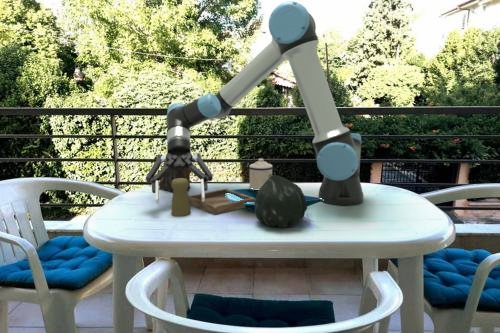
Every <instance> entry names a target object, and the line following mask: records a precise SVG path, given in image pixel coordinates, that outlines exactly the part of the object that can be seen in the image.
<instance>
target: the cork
mask: <svg viewBox="0 0 500 333" xmlns="http://www.w3.org/2000/svg"><path fill="white" fill-rule="evenodd" d="M171 186H172V189H173V192H172V200H171V202H172V203H171V213H170V214H171V216H173V217H177V218H180V217H181V218H182V217H188V216H191V214H192V211H191V205H190V204H189V198H188V196H189V193H188V192H189V191H188V192H187V188H188V186H189V182H188V180H187V179H185V178H176V179H174V180H172V183H171Z"/></svg>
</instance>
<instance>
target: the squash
mask: <svg viewBox="0 0 500 333" xmlns="http://www.w3.org/2000/svg"><path fill="white" fill-rule="evenodd" d="M306 200H307V199H306V196H305V194H304V193H303V190H302V188H301V187H300V186H299V185H297V184H296V183H294V182H293V181H290V180H289V179H287V178H285V177H283V176H281V175H275V174H274V175H273V174H272V175H271V176H270V177H269V178H268V180H267V181H266V182H265V183H264V185H263V186H262V187H261V188H260V189H259V191H257V193H256V196H255V205H254V212H255V217H256V219H257V221H259V222H260V223H261V224H263V225H266V226H268V227H271V228H272V227H276V226H277V227H279V228H282V229H284V228H286V227H287V226H288V227H295V226H297V225H298V224H299V223H300V221H301V220H302V219H303V218H304V217H305V214H306V211H307V209H308V205H307V201H306Z"/></svg>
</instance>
